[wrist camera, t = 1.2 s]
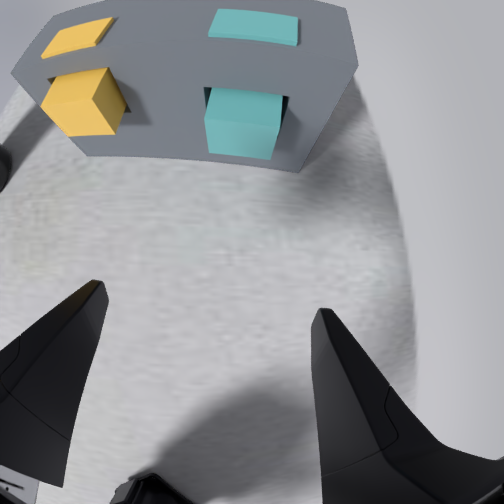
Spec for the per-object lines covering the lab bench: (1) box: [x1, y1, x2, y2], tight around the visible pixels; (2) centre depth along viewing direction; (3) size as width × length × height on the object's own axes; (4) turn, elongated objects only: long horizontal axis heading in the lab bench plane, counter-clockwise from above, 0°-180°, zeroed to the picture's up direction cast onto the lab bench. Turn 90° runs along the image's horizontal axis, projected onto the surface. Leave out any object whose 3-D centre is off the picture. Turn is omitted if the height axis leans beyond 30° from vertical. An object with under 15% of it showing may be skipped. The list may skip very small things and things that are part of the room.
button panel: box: [11, 0, 358, 173], centre depth 17 cm, size 6×20×14 cm, turn 84°
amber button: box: [40, 67, 127, 137], centre depth 13 cm, size 4×4×4 cm
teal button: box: [204, 87, 283, 160], centre depth 16 cm, size 4×4×4 cm
